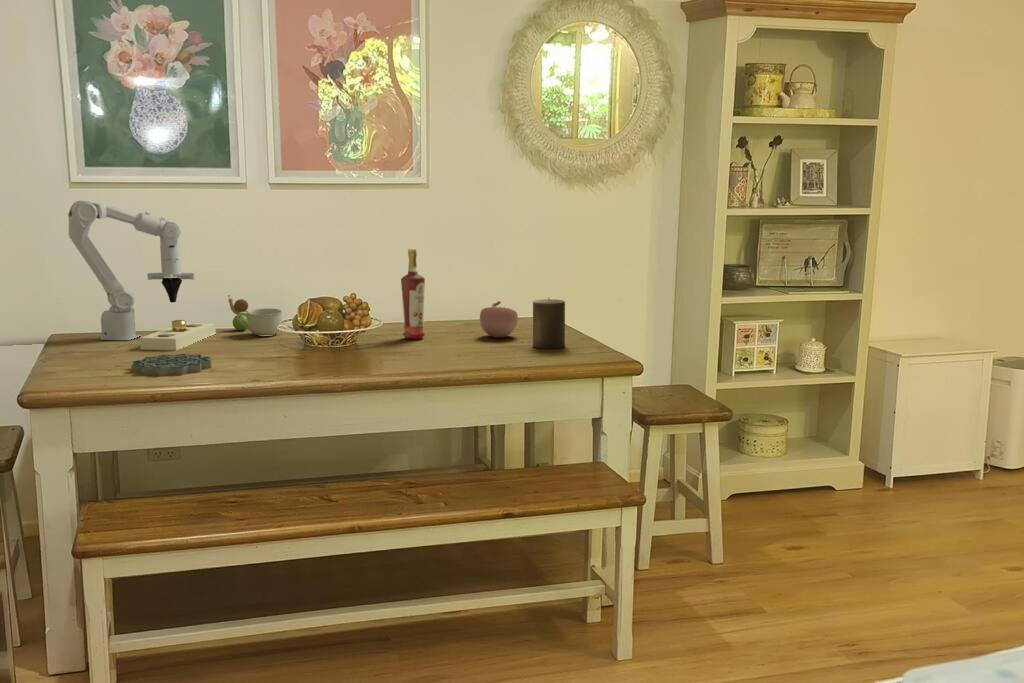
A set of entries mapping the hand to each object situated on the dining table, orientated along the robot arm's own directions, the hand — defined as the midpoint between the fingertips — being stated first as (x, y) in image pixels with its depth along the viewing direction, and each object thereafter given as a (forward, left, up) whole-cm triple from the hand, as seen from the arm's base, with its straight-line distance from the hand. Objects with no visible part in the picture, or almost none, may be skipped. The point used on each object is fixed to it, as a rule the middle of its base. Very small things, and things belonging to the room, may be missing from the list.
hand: (173, 302), depth 307 cm
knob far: (+8, -4, -10) cm, 13 cm away
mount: (+8, -13, -10) cm, 19 cm away
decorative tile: (+24, -50, -11) cm, 57 cm away
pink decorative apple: (+104, +8, -11) cm, 105 cm away
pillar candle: (+121, -5, -11) cm, 122 cm away
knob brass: (+8, -13, -7) cm, 17 cm away
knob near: (+8, -22, -10) cm, 25 cm away
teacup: (+28, +2, -11) cm, 30 cm away
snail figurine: (+18, +9, -11) cm, 23 cm away
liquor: (+78, +2, -11) cm, 79 cm away
